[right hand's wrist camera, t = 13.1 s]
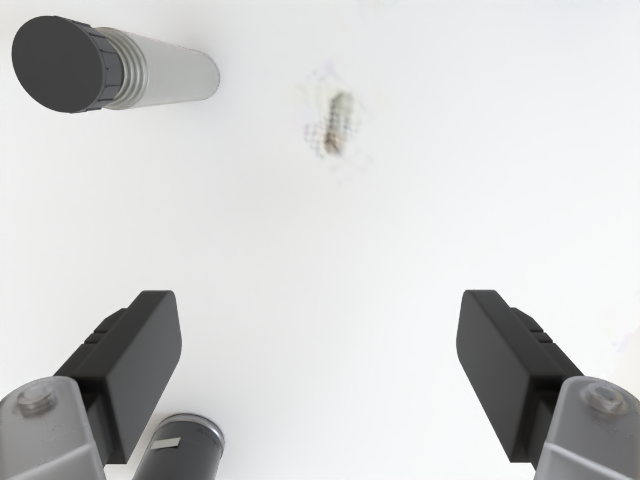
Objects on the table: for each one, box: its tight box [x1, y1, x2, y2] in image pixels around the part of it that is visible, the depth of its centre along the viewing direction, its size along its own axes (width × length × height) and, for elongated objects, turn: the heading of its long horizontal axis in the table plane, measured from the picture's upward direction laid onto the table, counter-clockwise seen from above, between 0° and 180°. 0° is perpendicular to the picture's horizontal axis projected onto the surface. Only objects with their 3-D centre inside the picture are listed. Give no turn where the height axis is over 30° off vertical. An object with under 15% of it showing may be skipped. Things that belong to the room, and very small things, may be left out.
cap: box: [12, 16, 122, 113], centre depth 19 cm, size 4×4×2 cm
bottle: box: [94, 27, 220, 110], centre depth 28 cm, size 4×4×22 cm
